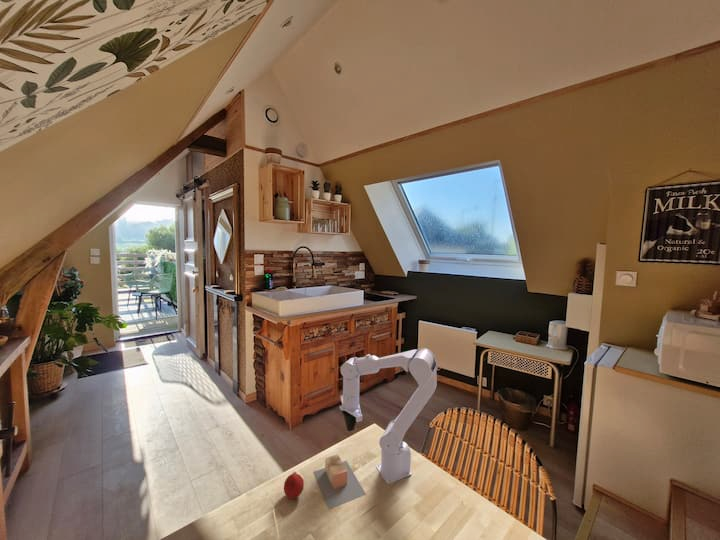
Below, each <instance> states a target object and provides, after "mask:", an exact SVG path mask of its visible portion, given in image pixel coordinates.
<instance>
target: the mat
mask: <svg viewBox="0 0 720 540" xmlns="http://www.w3.org/2000/svg"><path fill="white" fill-rule="evenodd" d="M342 462H343V464H344V466H345V468H346V469H347V484H346V485H344V486H341V487H339V488H336V489H333V486H332V484H331V482H330V480H329V478H328V476H327V474H326V471H325V467H323V468H320V469H318V470H315V471H313V474H314V477H315V480H316V482H317V484H318V486H319V489H320V492H321V495H322V496H323V499H324V501H325V505H326V506H327V508H328V510H330V509H334V508H336V507H338V506H341V505H343V504H346V503H348V502H350V501H353V500H356V499H358V498H361V497H363V496H365V495H367V494H366V491H365V490H364V489H363V486H362V485H361V483H360V482H359V480H358V478H357V476H356V475H355V473H354V471H353V470H352V468H351V466H350V464H349V463H348V461H347V460H345V461H342Z"/></svg>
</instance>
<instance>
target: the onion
mask: <svg viewBox="0 0 720 540" xmlns="http://www.w3.org/2000/svg"><path fill="white" fill-rule="evenodd" d="M283 483H284V484H283V492H284V494H285V497H287V498H288V499H291V500H293V499H296V498H298V497H299V496H301V494H302V492H303V490H304V488H305V487H304V486H305V485H304V484H305V482H304V479H303V477H302V476H301V475H300V474H299V473H297V471H293V472H292V473H291V474H290V475H288V476H287V478H286V479H285V481H284V482H283Z"/></svg>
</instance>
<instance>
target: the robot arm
mask: <svg viewBox="0 0 720 540" xmlns="http://www.w3.org/2000/svg"><path fill="white" fill-rule="evenodd" d="M396 367H397V368H399V367H402V369H403V370H404V371H405V372H407V373H408V372H410V374H411V376H412V377H413V378H414V380H415V381H416V382H417V385H418V386H417V388H416V390H415V391H414V393H413V394H412V395H411V397H410V398H409V399H408V401H407V403H406V404H405V406H404V407H403V408H402V409H401V412H400V413H399V414H398V416H396V418H395V419H393V420H391V421H390V422H389V423H388V424H387V427H386V429H385V430H384V432H383V434H382V435H381V437H380V438H379V441H378V442H379V447H380V451H381V456H380V457H381V458H380V461H381V462H380V464H378V465H375V468H376V470H377V471H378V473H379V474H380V476H382V478H383V480H385V482H386V483H387V484H389V485H390V484H392V483H394V482H396V481H399V480H401V479H405V478H407V477H409V476H411V475H412V472H411V461H412V460H411V459H412V458H411V457H412V453H411V450H410V447H409V445H408V443H407V442H406V441H403V439H404V437H405V435H406V432H407V431H408V430H409V428H410V427H411V426H412V424H413V423H414V421H415V420H416V418H417V417H418V416H419V414H420V413H421V411H422V410H423V408H424V407H425V406H426V405H427V403H428V402H429V400H430V399H431V398H432V396H433V395H434V393H435V391H436V389H437V385H438V383H437V382H438V379H437V378H438V377H437V367H438V361H437V360H436V356H435V355H434V352H432V351H431V350H430V349H428V348H420V349H411V350H407V351H402V352H399V353H398V352H397V353H395V354H391V355H390V354H389V355H385V356H382V357H378V356H376V355H374V354H372V355H371V354H370V353H368V354H366V355H365V356H363V357H361V356H360V357H357V356H355V357H351V358H349V359H347V360H346V361H344V363H343V364H341V367H340V374H341V376H342V378H343V379H342V395H340V402H341V405H339V409H340V410H341V413H342V415H343V417H344V421H345V426H346V430H347V431H348V432H353V431H354V430H355V427H356V423H359V422H362V421H363V418H364V417H363V414H362V412H361V411H362V410H361V405H360V377H361V376H365V375H371V374H376V373H378V372H379V371H380V369H387V368H396Z"/></svg>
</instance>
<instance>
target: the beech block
mask: <svg viewBox="0 0 720 540" xmlns="http://www.w3.org/2000/svg"><path fill="white" fill-rule="evenodd" d="M324 462H325V463H324V464H325V466H324V468H325V471H326V474H327V476H328V478H329V480H330V482H331V484H332V486H333V489H336V488H339V487H341V486H344V485H346V484H347V469H346V468H345V466H344V464H343V462H344V461H343V460H342V459H341V457H340V455H339V453H336V454H334V455H331V456H328V457H325V459H324Z"/></svg>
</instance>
